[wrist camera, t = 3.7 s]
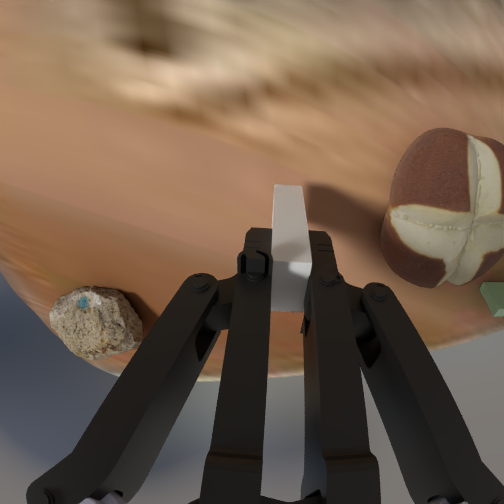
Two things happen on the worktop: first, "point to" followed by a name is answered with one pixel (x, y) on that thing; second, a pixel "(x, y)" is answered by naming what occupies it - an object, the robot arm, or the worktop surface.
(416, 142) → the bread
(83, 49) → the worktop surface
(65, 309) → the rock
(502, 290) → the mint green tray
